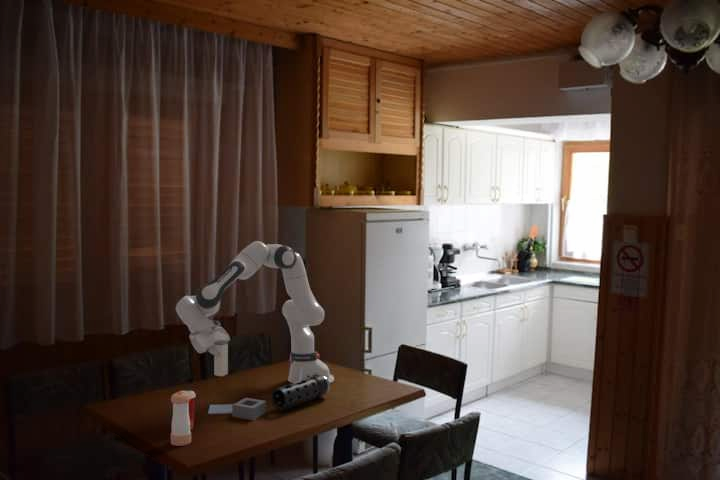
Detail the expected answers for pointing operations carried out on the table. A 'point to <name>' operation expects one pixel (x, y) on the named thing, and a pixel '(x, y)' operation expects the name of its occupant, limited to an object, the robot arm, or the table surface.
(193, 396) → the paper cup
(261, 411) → the header
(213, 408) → the mat
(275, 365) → the table surface
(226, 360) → the plug
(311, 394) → the muzzle brake
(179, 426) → the pepper shaker
